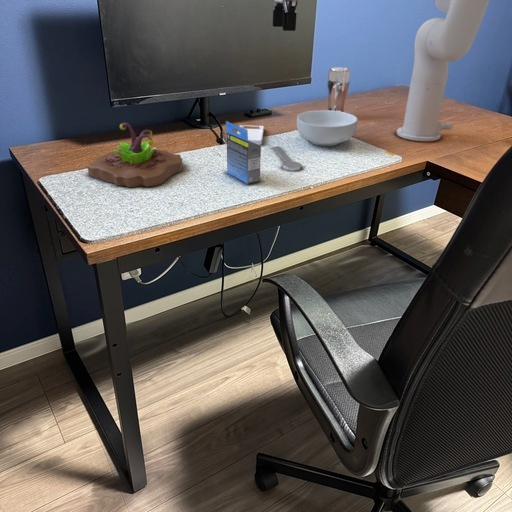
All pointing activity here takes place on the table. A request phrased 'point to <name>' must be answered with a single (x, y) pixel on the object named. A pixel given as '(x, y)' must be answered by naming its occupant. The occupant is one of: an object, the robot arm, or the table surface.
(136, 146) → the plant
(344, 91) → the beer glass
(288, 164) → the spoon
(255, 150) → the blue cardboard box
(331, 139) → the cereal bowl
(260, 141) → the phone case
